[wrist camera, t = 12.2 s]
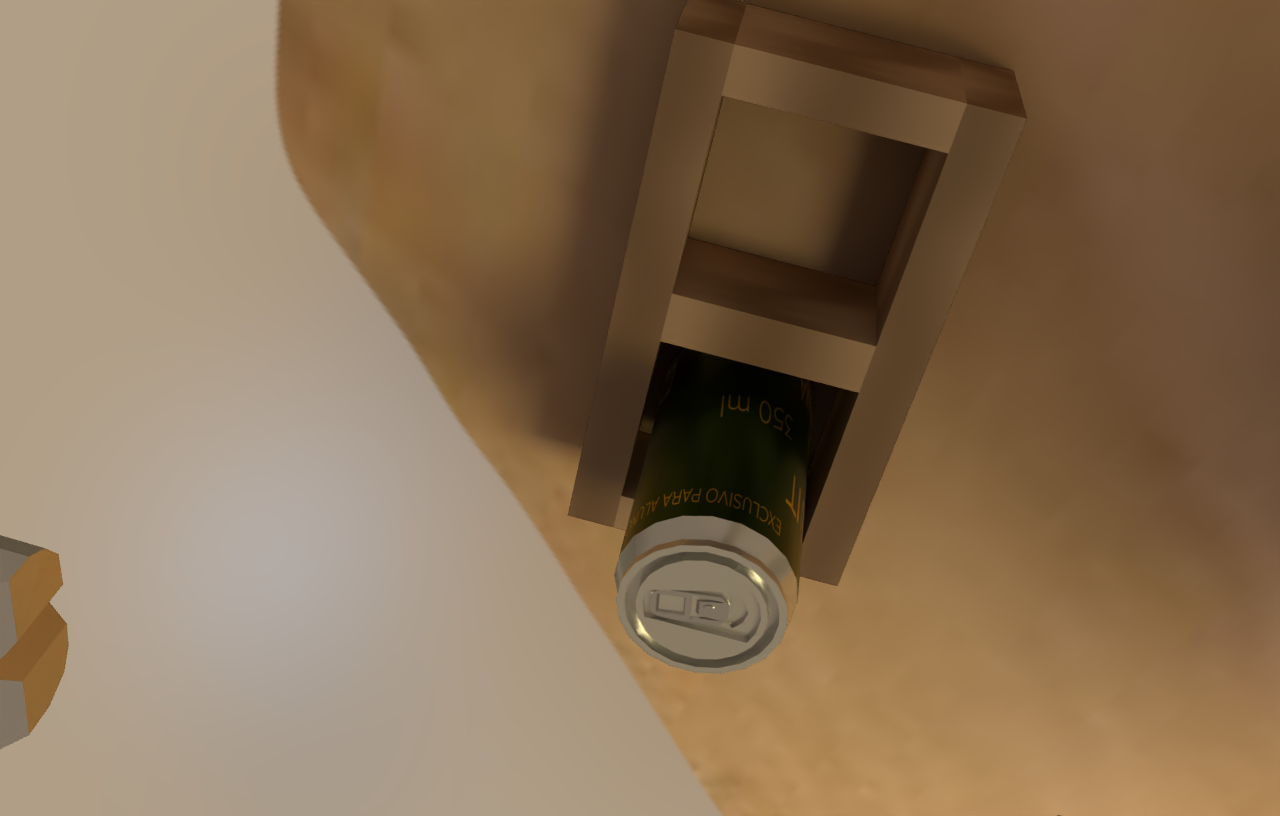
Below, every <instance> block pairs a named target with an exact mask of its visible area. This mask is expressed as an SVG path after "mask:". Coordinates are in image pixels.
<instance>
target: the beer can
mask: <svg viewBox="0 0 1280 816" xmlns="http://www.w3.org/2000/svg"><path fill="white" fill-rule="evenodd" d="M811 419H812V386H811V384H810V381H809V380H808V379H804V378H800V377H796V376H792V375H789V374H785V373H781V372H777V371H773V370H769V369H765V368H762V367H758V366H754V365H750V364H746V363H742V362H739V361H735V360H731V359H727V358H723V357H719V356H715V355H712V354H708V353H704V352H700V351H696V350H692V349H688V348H686V349H684V350H683V351H682V352H680V354H679V355H678V356H677V358H676V359H675V361H674V362H673V363H672V365H671V366H670V367H669V369H668V373H667V377H666V380H665V384H664V388H663V392H662V396H661V399H660V403H659V407H658V411H657V415H656V418H655V422H654V426H653V430H652V434H651V437H650V441H649V445H648V449H647V453H646V456H645V460H644V464H643V468H642V472H641V475H640V479H639V483H638V487H637V491H636V494H635V498H634V502H633V506H632V510H631V513H630V517H629V521H628V525H627V529H626V532H625V536H624V540H623V544H622V548H621V551H620V555H619V559H618V563H617V567H616V571H615V574H614V576H615V582H616V589H617V598H616V602H617V608H618V614H619V620H620V621H621V623H622V625H623V627H624V628H625V630H626V632H627V633H628V635H629V637H630V638H631V639H632V640H633V641H634V642H635V643H636V644H637V645H638V646H639V647H640V648H642V649H643V650H644V651H645V652H646V653H647V654H648V655H650V656H652V657H654V658H656V659H658V660H660V661H662V662H664V663H665V664H667V665H669V666H672V667H676V668H680V669H683V670H687V671H691V672H695V673H720V674H721V673H726V672H731V671H736V670H741V669H746V668H747V667H749V666H751V665H753V664H755V663H757V662H759V661H761V660H763V659H765V658H766V657H767V656H768V655H769V654H770V653H771V652H772V651H773V650H774V649H775V648H776V647H777V646H778V645H779V644H780V643H781V640H782V638H783V635H784V632H785V630H786V627H787V625H788V623H789V622H790V620H791V617H792V614H793V612H794V609H795V607H796V604H797V602H798V590H799V577H800V564H801V551H802V538H803V525H804V511H805V498H806V485H807V472H808V459H809V445H810V432H811Z"/></svg>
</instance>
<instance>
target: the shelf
mask: <svg viewBox="0 0 1280 816" xmlns="http://www.w3.org/2000/svg"><path fill="white" fill-rule="evenodd" d="M724 96H726V97H730V98H734V99H737V100H741V101H745V102H749V103H753V104H757V105H761V106H765V107H769V108H773V109H777V110H780V111H784V112H788V113H792V114H796V115H800V116H804V117H808V118H812V119H816V120H819V121H823V122H827V123H831V124H835V125H839V126H843V127H847V128H851V129H855V130H858V131H862V132H866V133H870V134H874V135H878V136H882V137H886V138H890V139H894V140H897V141H901V142H905V143H909V144H913V145H917V146H921V147H925V148H926V150H925V153H924V156H923V159H922V161H921V164H920V167H919V170H918V172H917V175H916V178H915V181H914V183H913V186H912V189H911V192H910V194H909V197H908V200H907V203H906V206H905V208H904V211H903V214H902V217H901V219H900V222H899V225H898V228H897V230H896V233H895V236H894V239H893V242H892V244H891V247H890V250H889V253H888V255H887V258H886V261H885V264H884V266H883V269H882V272H881V275H880V277H879V280H878V283H877V286H872V285H868V284H864V283H860V282H857V281H853V280H849V279H845V278H841V277H837V276H833V275H829V274H826V273H822V272H818V271H814V270H810V269H806V268H802V267H798V266H795V265H791V264H787V263H783V262H779V261H775V260H771V259H767V258H764V257H760V256H756V255H752V254H748V253H744V252H740V251H737V250H733V249H729V248H725V247H721V246H717V245H713V244H709V243H706V242H702V241H698V240H694V239H690V238H688V236H689V232H690V228H691V224H692V220H693V216H694V212H695V208H696V204H697V200H698V196H699V192H700V188H701V184H702V180H703V176H704V172H705V168H706V164H707V160H708V156H709V152H710V148H711V144H712V141H713V137H714V133H715V129H716V125H717V121H718V117H719V113H720V109H721V105H722V101H723V97H724ZM1026 121H1027V117H1026V113H1025V110H1024V106H1023V103H1022V99H1021V95H1020V92H1019V88H1018V85H1017V81H1016V78H1015V74H1014V72H1013V71H1009V70H1005V69H1001V68H997V67H994V66H990V65H986V64H982V63H978V62H974V61H970V60H966V59H962V58H958V57H954V56H950V55H946V54H943V53H939V52H935V51H931V50H927V49H923V48H919V47H915V46H911V45H907V44H903V43H899V42H895V41H892V40H888V39H884V38H880V37H876V36H872V35H868V34H864V33H860V32H856V31H852V30H848V29H844V28H841V27H837V26H833V25H829V24H825V23H821V22H817V21H813V20H809V19H805V18H801V17H797V16H794V15H790V14H786V13H782V12H778V11H774V10H770V9H766V8H762V7H758V6H754V5H750V4H746V3H743V2H739V1H735V0H688V1H687V3H686V5H685V8H684V10H683V12H682V14H681V17H680V19H679V21H678V23H677V25H676V28H675V31H674V35H673V40H672V44H671V49H670V53H669V58H668V62H667V67H666V72H665V76H664V81H663V85H662V90H661V94H660V99H659V103H658V108H657V112H656V117H655V121H654V126H653V131H652V135H651V140H650V144H649V149H648V153H647V158H646V162H645V167H644V171H643V176H642V180H641V185H640V190H639V194H638V199H637V203H636V208H635V212H634V217H633V221H632V226H631V230H630V235H629V239H628V244H627V249H626V253H625V258H624V262H623V267H622V271H621V276H620V280H619V285H618V289H617V294H616V298H615V303H614V308H613V312H612V317H611V321H610V326H609V330H608V335H607V339H606V344H605V348H604V353H603V357H602V362H601V367H600V371H599V376H598V380H597V385H596V389H595V394H594V398H593V403H592V407H591V412H590V416H589V421H588V426H587V430H586V435H585V439H584V444H583V448H582V453H581V457H580V462H579V466H578V471H577V475H576V480H575V485H574V489H573V494H572V498H571V503H570V507H569V512H568V516H572V517H576V518H580V519H583V520H587V521H591V522H595V523H599V524H602V525H606V526H610V527H614V528H618V529H621V530H625V531H626V529H627V525H628V521H629V517H630V513H631V510H632V506H633V502H634V498H635V494H636V491H637V487H638V483H639V479H640V475H641V472H642V468H643V464H644V460H645V456H646V453H647V449H648V445H649V441H650V437H651V435H650V434H646V433H642V432H639V430H640V426H641V422H642V418H643V415H644V411H645V407H646V403H647V399H648V395H649V391H650V387H651V383H652V379H653V375H654V371H655V367H656V363H657V359H658V355H659V351H660V347H661V343H662V342H665V343H669V344H673V345H677V346H681V347H685V348H688V349H692V350H696V351H700V352H704V353H708V354H712V355H715V356H719V357H723V358H727V359H731V360H735V361H739V362H742V363H746V364H750V365H754V366H758V367H762V368H765V369H769V370H773V371H777V372H781V373H785V374H789V375H792V376H796V377H800V378H804V379H808V380H812V381H815V382H819V383H823V384H827V385H831V386H835V387H839V391H838V394H837V396H836V399H835V402H834V405H833V408H832V410H831V413H830V416H829V419H828V421H827V424H826V427H825V430H824V432H823V435H822V438H821V441H820V444H819V446H818V449H817V452H816V455H815V457H814V460H813V463H812V466H811V468H810V471H809V474H808V476H807V485H806V498H805V511H804V525H803V538H802V551H801V564H800V577H804V578H808V579H812V580H816V581H819V582H823V583H827V584H831V585H835V586H837V585H838V583H839V581H840V578H841V576H842V573H843V571H844V568H845V566H846V563H847V561H848V558H849V556H850V554H851V551H852V549H853V546H854V544H855V541H856V539H857V536H858V534H859V531H860V529H861V526H862V524H863V522H864V519H865V517H866V514H867V512H868V509H869V507H870V504H871V502H872V499H873V497H874V495H875V492H876V490H877V487H878V485H879V482H880V480H881V477H882V475H883V472H884V470H885V467H886V465H887V463H888V460H889V458H890V455H891V453H892V450H893V448H894V445H895V443H896V440H897V438H898V435H899V433H900V431H901V428H902V426H903V423H904V421H905V418H906V416H907V413H908V411H909V408H910V406H911V404H912V401H913V399H914V396H915V394H916V391H917V389H918V386H919V384H920V381H921V379H922V376H923V374H924V372H925V369H926V367H927V364H928V362H929V359H930V357H931V354H932V352H933V349H934V347H935V345H936V342H937V340H938V337H939V335H940V332H941V330H942V327H943V325H944V322H945V320H946V317H947V315H948V313H949V310H950V308H951V305H952V303H953V300H954V298H955V295H956V293H957V290H958V288H959V285H960V283H961V281H962V278H963V276H964V273H965V271H966V268H967V266H968V263H969V261H970V258H971V256H972V254H973V251H974V249H975V246H976V244H977V241H978V239H979V236H980V234H981V231H982V229H983V226H984V224H985V222H986V219H987V217H988V214H989V212H990V209H991V207H992V204H993V202H994V199H995V197H996V195H997V192H998V190H999V187H1000V185H1001V182H1002V180H1003V177H1004V175H1005V172H1006V170H1007V167H1008V165H1009V163H1010V160H1011V158H1012V155H1013V153H1014V150H1015V148H1016V145H1017V143H1018V140H1019V138H1020V135H1021V133H1022V131H1023V128H1024V126H1025V123H1026Z"/></svg>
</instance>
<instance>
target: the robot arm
mask: <svg viewBox="0 0 1280 816" xmlns="http://www.w3.org/2000/svg"><path fill="white" fill-rule="evenodd" d="M62 585H63V581H62V574H61V568H60V561H59V555H58V554H57V553H54V552H52V551H50V550H48V549H45V548H42V547H39V546H35V545H31V544H28V543H25V542H21V541H18V540H15V539H11V538H8V537H4V536H1V535H0V749H1V748H3V747H5V746H7V745H9V744H12V743H14V742H16V741H18V740H20V739H22V738H24V737H26V736H28V735H29V734H30V733H31V731H32V730H33V729H34V727H35V726H36V724H37V723H38V722H39V720H40V719H41V717H42V716H43V714H44V713H45V712H46V710H47V709H48V707H49V706H50V704H51V701H52V699H53V697H54V694H55V692H56V690H57V687H58V685H59V683H60V680H61V678H62V676H63V673H64V669H65V664H66V658H67V651H68V634H67V633H68V632H67V623H66V622H65V621H64V620H63V618H61V616H60V615H59V614H58V612H57V611H56V610H55V609H54V607H53V606H52V605H51V604H50V602H49V601H50V600H51V599H52V598H53V596H54V595H55V594H56V593H57V591H58V590H59V589H60V587H61V586H62ZM1058 816H1060V815H1058Z"/></svg>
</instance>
